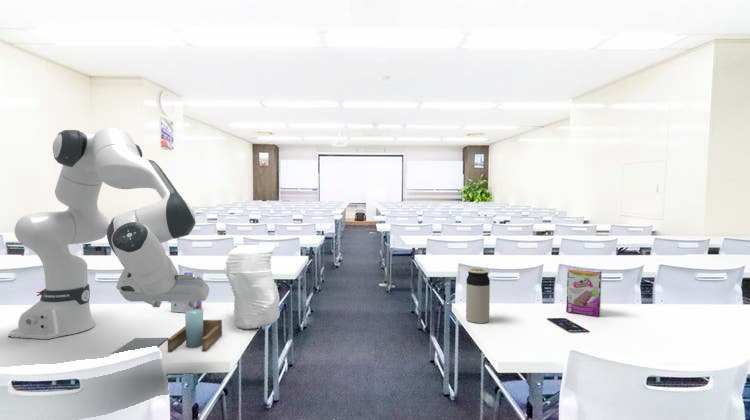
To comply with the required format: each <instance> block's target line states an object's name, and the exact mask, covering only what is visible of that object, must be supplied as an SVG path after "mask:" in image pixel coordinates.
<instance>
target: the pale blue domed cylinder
mask: <svg viewBox="0 0 750 420" xmlns="http://www.w3.org/2000/svg"><path fill="white" fill-rule="evenodd" d="M184 314H185V315H184V317H185V323H186V325H185V326H186V340H185V347H186V348H191V349H192V348H198V347H202V339H203V338H204V337H203V320H204V310H203V308H202V309H192V310H188V311H186V312H185V313H184ZM185 323H184V324H185Z"/></svg>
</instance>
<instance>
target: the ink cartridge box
mask: <svg viewBox="0 0 750 420" xmlns="http://www.w3.org/2000/svg"><path fill="white" fill-rule="evenodd" d="M183 275H194V273H193V272H185V271H184V273H183ZM189 302H190V301H170V312H171V313H184V314H185V312H186V311H188V310H192V309H202V310H203V307H202V306H203V304H202V303H203V301H197V305H196V307H189V305H188V303H189Z"/></svg>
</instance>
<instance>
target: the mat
mask: <svg viewBox="0 0 750 420" xmlns="http://www.w3.org/2000/svg"><path fill="white" fill-rule="evenodd" d="M168 339H169V337H135V338H133V339H132V340H129V342H127V343H126V344H124V345H122V346H121V347H119V348H118V349H116V350H115V351H113V352H111V353H110V354H114V353H119V352H124V351H128V350H135V349H140V348H146V347H152V346H158V347H160V346H161V345H163V344H164V343H165V342H167V341H168Z"/></svg>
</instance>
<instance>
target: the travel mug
mask: <svg viewBox="0 0 750 420" xmlns="http://www.w3.org/2000/svg"><path fill="white" fill-rule="evenodd" d="M466 271H467V274H468V275H467V277H466V285H465V289H466V292H465V293H466V295H465V301H466V302H465V303H466V304H465V306H466V308H465V313H466V314H465V319H466V320H467V321H468V322H470V323H473V324H485V323H488V322H489V321H490V301H491V300H490V298H491V297H490V291H491V290H490V287H491V282H490V280H491V279H490V278H489V273H490V270H489V269H487V268H482V267H481V268H480V267H471V268H468V269H467V270H466Z"/></svg>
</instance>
